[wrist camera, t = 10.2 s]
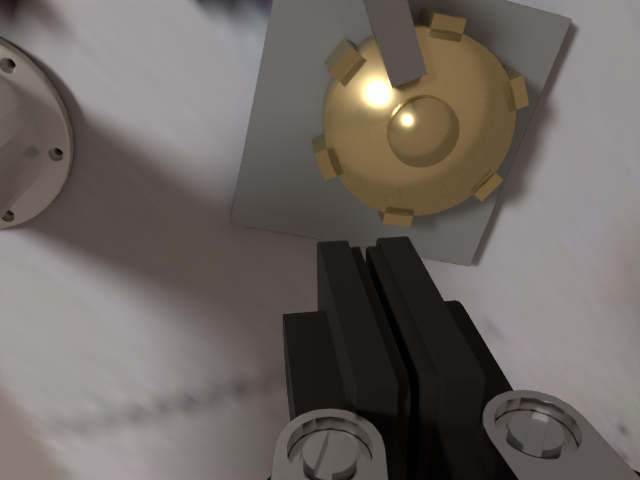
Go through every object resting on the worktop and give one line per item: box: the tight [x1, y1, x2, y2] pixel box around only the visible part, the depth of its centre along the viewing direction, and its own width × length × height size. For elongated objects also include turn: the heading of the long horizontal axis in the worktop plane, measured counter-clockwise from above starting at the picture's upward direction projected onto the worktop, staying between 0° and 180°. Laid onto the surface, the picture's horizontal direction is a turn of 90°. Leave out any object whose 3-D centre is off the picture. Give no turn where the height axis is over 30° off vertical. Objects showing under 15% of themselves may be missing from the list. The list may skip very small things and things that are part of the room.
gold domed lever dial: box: [311, 0, 529, 227], centre depth 31 cm, size 17×12×9 cm
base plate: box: [230, 0, 572, 266], centre depth 37 cm, size 17×17×1 cm
